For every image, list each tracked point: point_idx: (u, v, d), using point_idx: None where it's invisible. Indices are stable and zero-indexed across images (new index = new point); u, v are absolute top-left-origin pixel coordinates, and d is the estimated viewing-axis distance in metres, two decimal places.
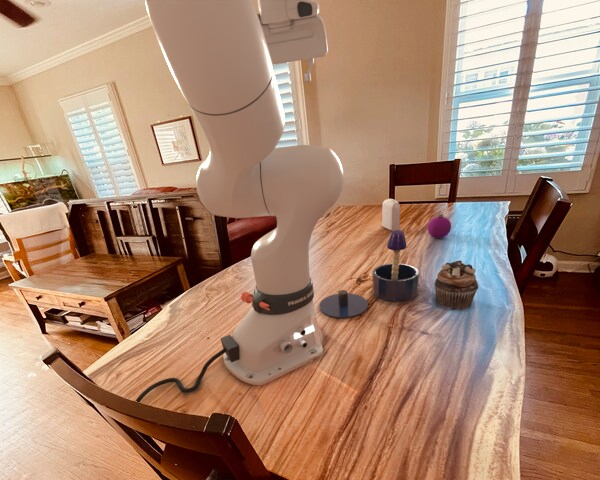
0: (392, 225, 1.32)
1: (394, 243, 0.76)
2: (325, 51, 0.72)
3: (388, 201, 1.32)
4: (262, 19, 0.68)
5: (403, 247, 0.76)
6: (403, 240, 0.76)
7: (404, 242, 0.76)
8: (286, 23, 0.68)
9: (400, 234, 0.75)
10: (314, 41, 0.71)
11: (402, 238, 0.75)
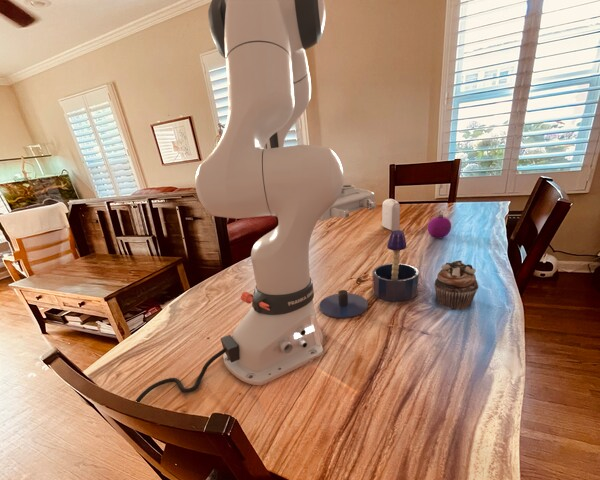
0: (392, 225, 1.32)
1: (394, 243, 0.76)
2: None
3: (388, 201, 1.32)
4: None
5: (403, 247, 0.76)
6: (403, 240, 0.76)
7: (404, 242, 0.76)
8: None
9: (400, 234, 0.75)
10: (362, 193, 0.92)
11: (402, 238, 0.75)
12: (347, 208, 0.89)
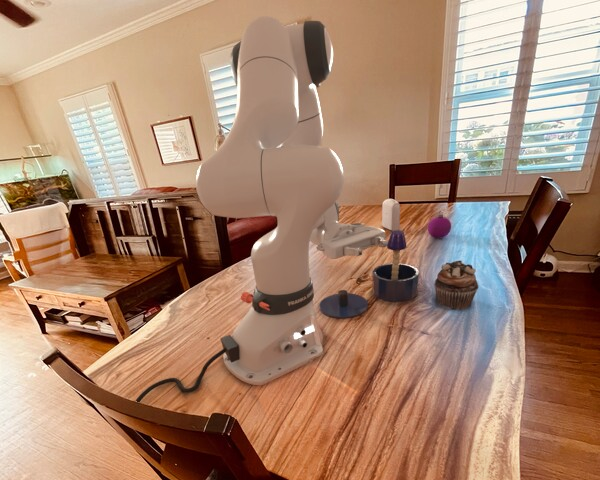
0: (392, 225, 1.32)
1: (394, 243, 0.76)
2: (383, 230, 0.93)
3: (388, 201, 1.32)
4: (333, 234, 0.93)
5: (403, 247, 0.76)
6: (403, 240, 0.76)
7: (404, 242, 0.76)
8: (349, 230, 0.94)
9: (400, 234, 0.75)
10: (372, 231, 0.94)
11: (402, 238, 0.75)
12: (359, 246, 0.90)
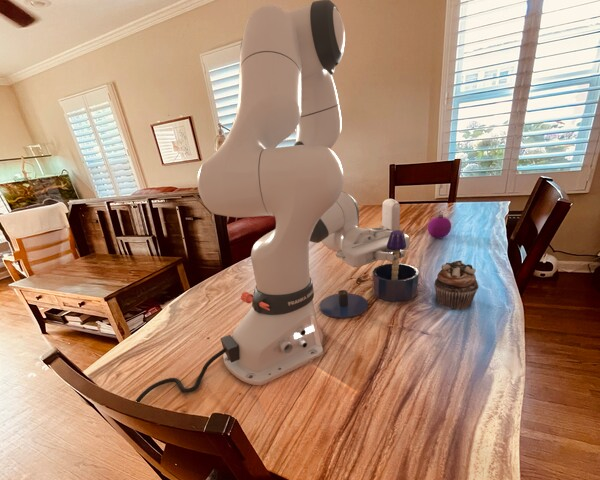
0: (392, 225, 1.32)
1: (394, 243, 0.76)
2: (407, 236, 0.86)
3: (388, 201, 1.32)
4: (353, 239, 0.86)
5: (403, 247, 0.76)
6: (403, 240, 0.76)
7: (404, 242, 0.76)
8: (370, 235, 0.87)
9: (400, 234, 0.75)
10: None
11: (402, 238, 0.75)
12: None
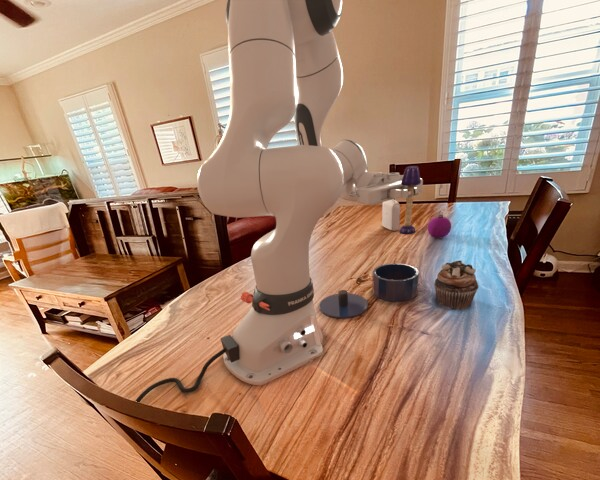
0: (392, 225, 1.32)
1: (409, 178, 0.77)
2: (420, 178, 0.87)
3: (388, 201, 1.32)
4: (367, 181, 0.87)
5: (418, 182, 0.77)
6: (418, 175, 0.76)
7: (418, 177, 0.77)
8: None
9: (415, 168, 0.76)
10: None
11: (417, 172, 0.76)
12: None
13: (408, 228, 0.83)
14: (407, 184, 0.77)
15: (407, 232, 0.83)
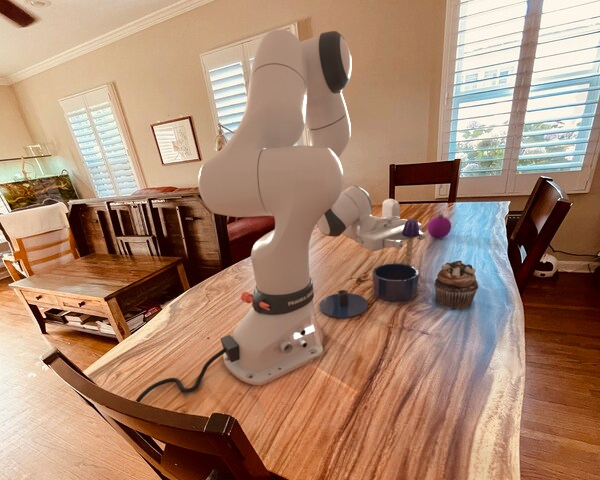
0: None
1: (409, 230, 0.85)
2: (419, 223, 0.95)
3: (388, 201, 1.32)
4: (370, 227, 0.95)
5: (417, 234, 0.85)
6: (417, 228, 0.85)
7: (417, 230, 0.85)
8: (386, 223, 0.96)
9: (414, 222, 0.84)
10: None
11: (416, 225, 0.84)
12: (397, 238, 0.92)
13: None
14: (407, 236, 0.86)
15: None
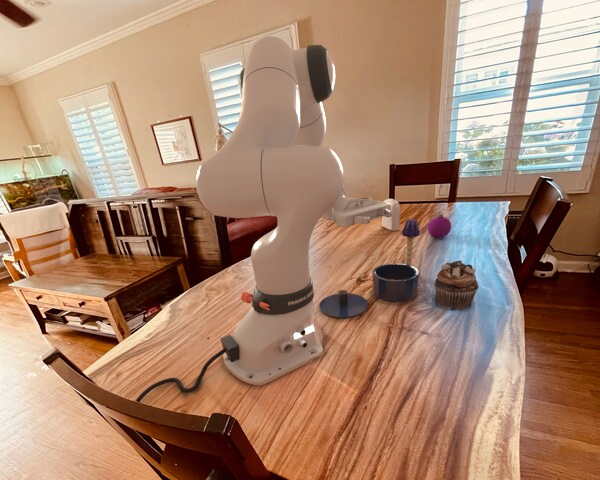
0: (392, 225, 1.32)
1: (409, 230, 0.85)
2: (388, 203, 1.02)
3: (388, 201, 1.32)
4: (343, 206, 1.02)
5: (417, 234, 0.85)
6: (417, 228, 0.85)
7: (417, 230, 0.85)
8: (357, 203, 1.03)
9: (414, 222, 0.84)
10: (379, 204, 1.03)
11: (416, 225, 0.84)
12: (367, 216, 0.99)
13: None
14: (407, 236, 0.86)
15: None
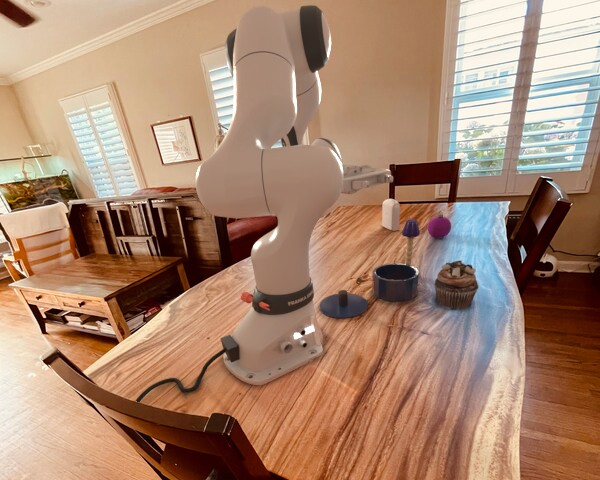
0: (392, 225, 1.32)
1: (409, 230, 0.85)
2: (389, 170, 0.98)
3: (388, 201, 1.32)
4: None
5: (417, 234, 0.85)
6: (417, 228, 0.85)
7: (417, 230, 0.85)
8: None
9: (414, 222, 0.84)
10: (378, 170, 0.99)
11: (416, 225, 0.84)
12: None
13: None
14: (407, 236, 0.86)
15: None
